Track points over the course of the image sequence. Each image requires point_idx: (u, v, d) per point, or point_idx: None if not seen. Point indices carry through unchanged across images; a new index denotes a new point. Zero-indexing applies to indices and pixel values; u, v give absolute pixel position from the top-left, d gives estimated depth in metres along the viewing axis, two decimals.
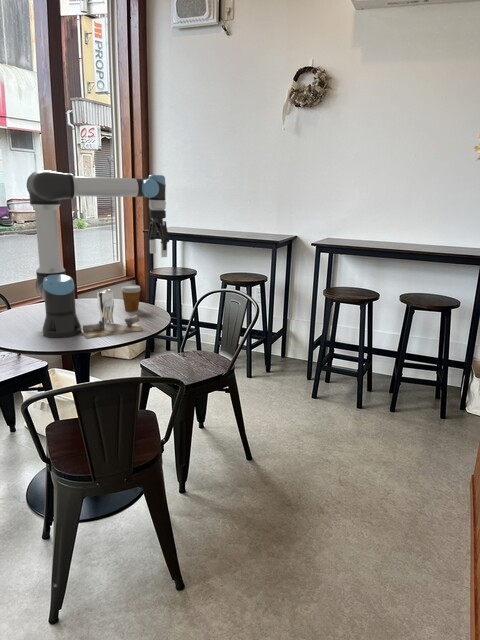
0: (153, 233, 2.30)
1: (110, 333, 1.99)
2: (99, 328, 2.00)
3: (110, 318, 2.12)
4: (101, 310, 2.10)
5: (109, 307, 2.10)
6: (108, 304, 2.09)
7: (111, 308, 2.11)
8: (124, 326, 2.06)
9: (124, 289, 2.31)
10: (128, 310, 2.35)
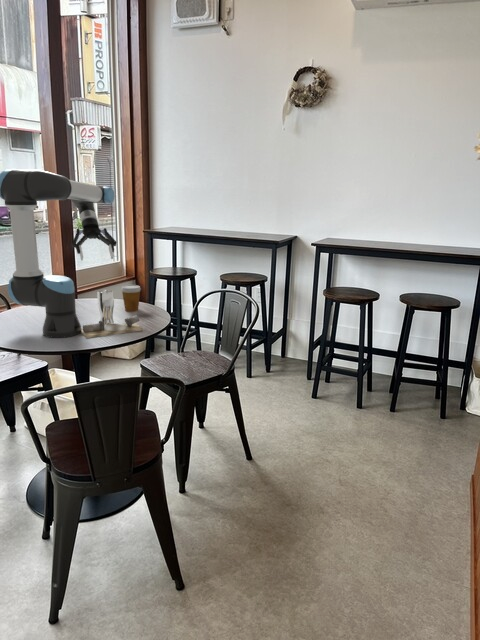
0: (83, 241, 2.23)
1: (110, 333, 1.99)
2: (99, 328, 2.00)
3: (110, 318, 2.12)
4: (101, 310, 2.10)
5: (109, 307, 2.10)
6: (108, 304, 2.09)
7: (111, 308, 2.11)
8: (124, 326, 2.06)
9: (124, 289, 2.31)
10: (128, 310, 2.35)
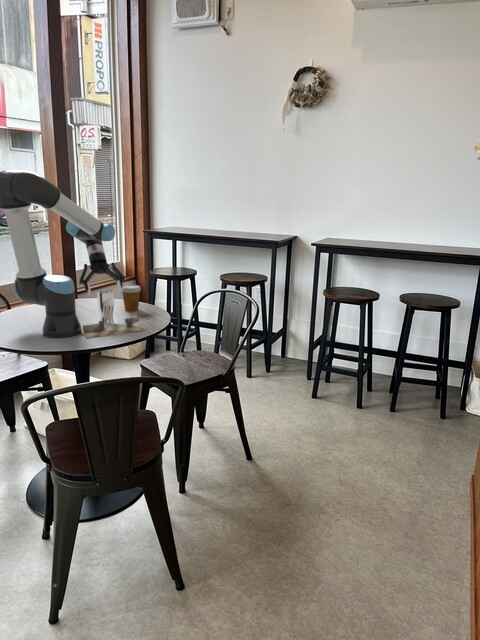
0: (91, 277, 2.17)
1: (110, 333, 1.99)
2: (99, 328, 2.00)
3: (110, 318, 2.12)
4: (101, 310, 2.10)
5: (109, 307, 2.10)
6: (108, 304, 2.09)
7: (111, 308, 2.11)
8: (124, 326, 2.06)
9: (124, 289, 2.31)
10: (128, 310, 2.35)
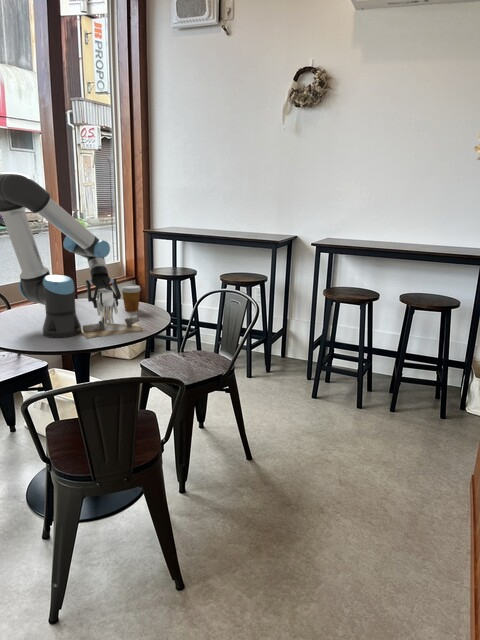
0: None
1: (110, 333, 1.99)
2: (99, 328, 2.00)
3: (110, 318, 2.12)
4: (101, 310, 2.10)
5: (109, 307, 2.10)
6: (108, 304, 2.09)
7: (111, 308, 2.11)
8: (124, 326, 2.06)
9: (124, 289, 2.31)
10: (128, 310, 2.35)
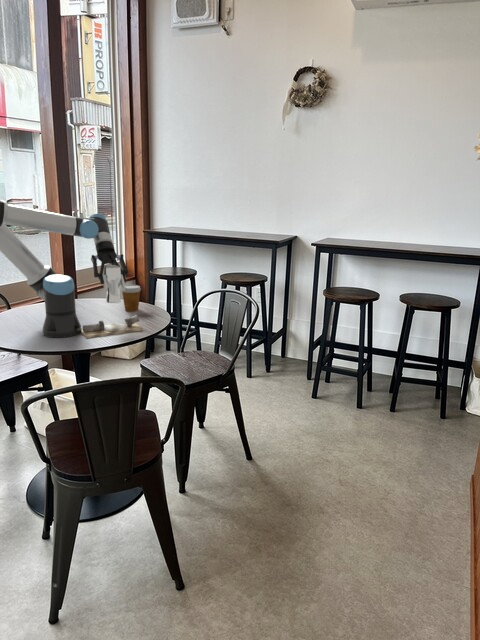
0: (103, 268, 2.02)
1: (110, 333, 1.99)
2: (99, 328, 2.00)
3: (117, 295, 2.02)
4: (108, 286, 1.99)
5: (116, 283, 1.99)
6: (116, 280, 1.99)
7: (118, 284, 2.01)
8: (124, 326, 2.06)
9: None
10: (128, 310, 2.35)
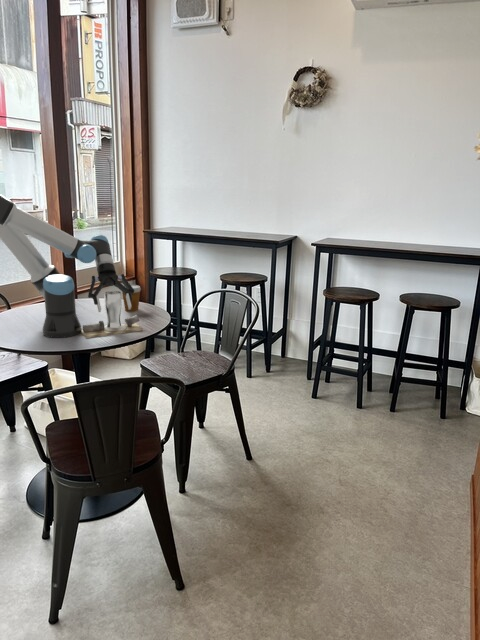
0: (100, 289, 2.02)
1: (110, 333, 1.99)
2: (99, 328, 2.00)
3: (117, 321, 2.02)
4: (108, 312, 2.00)
5: (116, 309, 2.00)
6: (115, 306, 1.99)
7: (119, 310, 2.01)
8: (124, 326, 2.06)
9: None
10: (128, 310, 2.35)
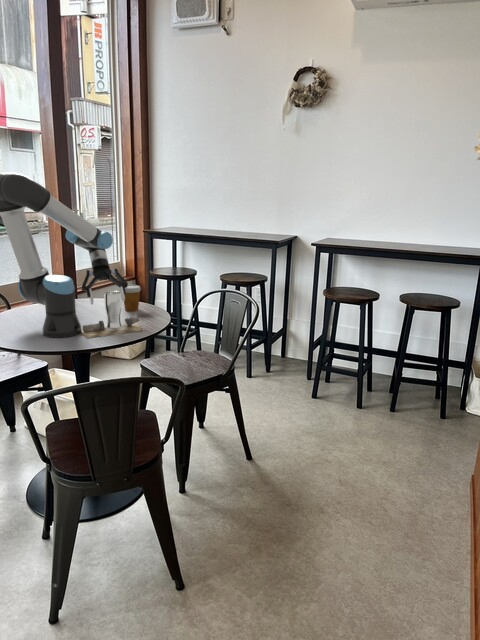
0: (93, 283, 2.13)
1: (110, 333, 1.99)
2: (99, 328, 2.00)
3: (117, 321, 2.02)
4: (108, 312, 2.00)
5: (116, 309, 2.00)
6: (115, 306, 1.99)
7: (118, 310, 2.01)
8: (124, 326, 2.06)
9: None
10: (128, 310, 2.35)
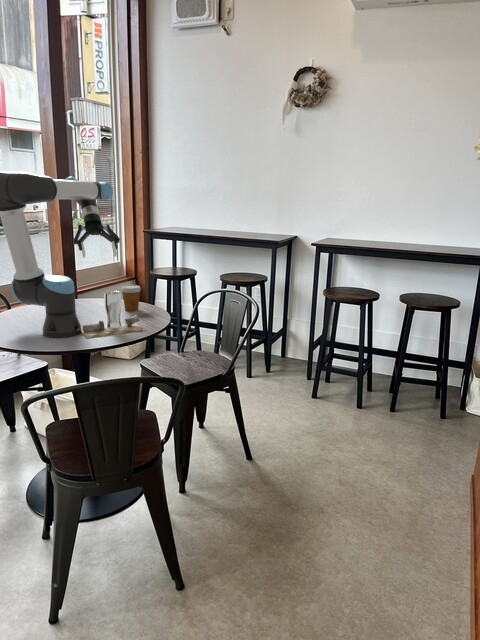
0: (85, 237, 2.14)
1: (110, 333, 1.99)
2: (99, 328, 2.00)
3: (117, 321, 2.02)
4: (108, 312, 2.00)
5: (116, 309, 2.00)
6: (115, 306, 1.99)
7: (118, 310, 2.01)
8: (124, 326, 2.06)
9: (124, 289, 2.31)
10: (128, 310, 2.35)
